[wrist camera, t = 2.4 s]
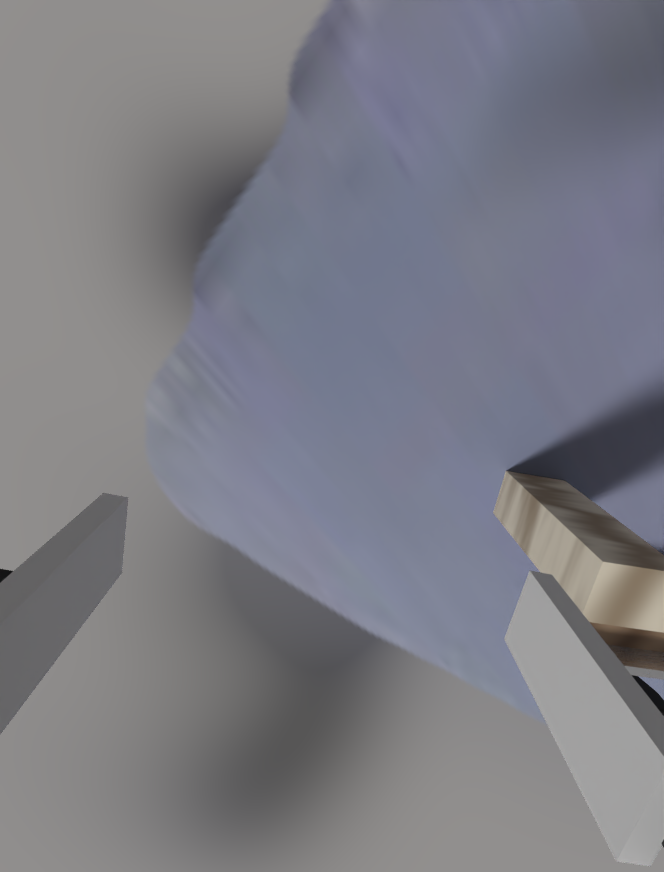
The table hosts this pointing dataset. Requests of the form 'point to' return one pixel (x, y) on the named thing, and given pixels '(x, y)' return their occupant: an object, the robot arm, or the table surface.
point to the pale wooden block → (585, 551)
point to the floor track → (635, 649)
